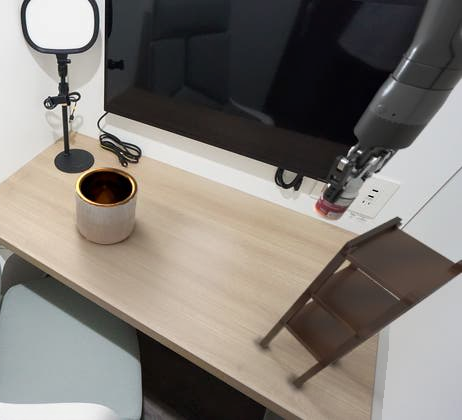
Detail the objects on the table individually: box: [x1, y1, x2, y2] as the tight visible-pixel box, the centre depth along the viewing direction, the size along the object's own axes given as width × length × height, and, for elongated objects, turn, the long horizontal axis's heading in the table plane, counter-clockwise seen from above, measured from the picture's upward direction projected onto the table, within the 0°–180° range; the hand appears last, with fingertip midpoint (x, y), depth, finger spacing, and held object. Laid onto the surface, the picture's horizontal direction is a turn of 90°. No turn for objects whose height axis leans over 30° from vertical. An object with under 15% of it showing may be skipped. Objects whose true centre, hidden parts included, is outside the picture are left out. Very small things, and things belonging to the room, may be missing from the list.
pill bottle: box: [313, 177, 364, 222], centre depth 59 cm, size 5×5×8 cm
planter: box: [74, 166, 139, 245], centre depth 92 cm, size 18×18×16 cm
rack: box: [258, 215, 462, 389], centre depth 57 cm, size 10×12×36 cm
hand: (338, 195), depth 58 cm, fingers closed on pill bottle, 4 cm apart
